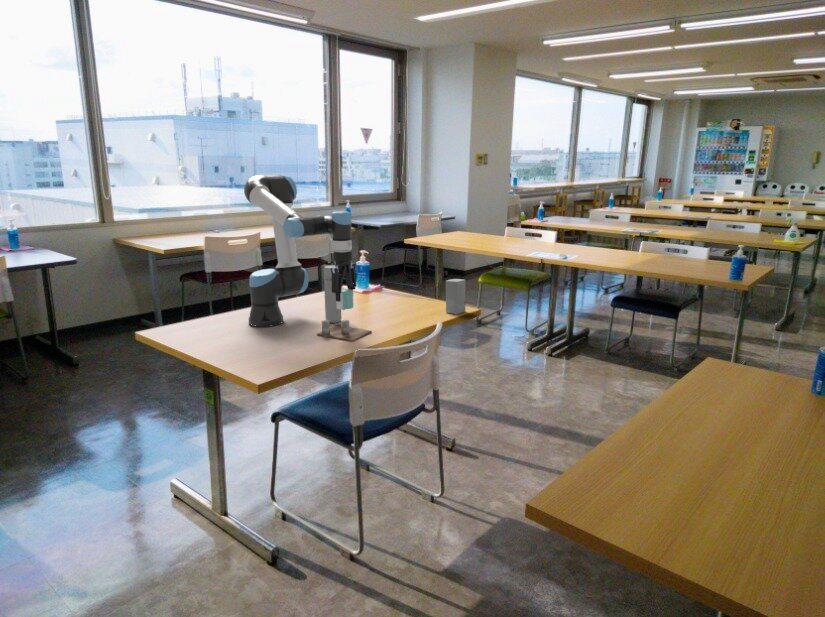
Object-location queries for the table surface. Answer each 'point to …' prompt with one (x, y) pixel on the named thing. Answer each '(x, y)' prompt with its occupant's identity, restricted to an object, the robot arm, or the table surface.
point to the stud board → (346, 337)
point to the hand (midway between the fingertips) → (345, 306)
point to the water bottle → (330, 297)
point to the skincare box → (455, 296)
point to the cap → (347, 298)
